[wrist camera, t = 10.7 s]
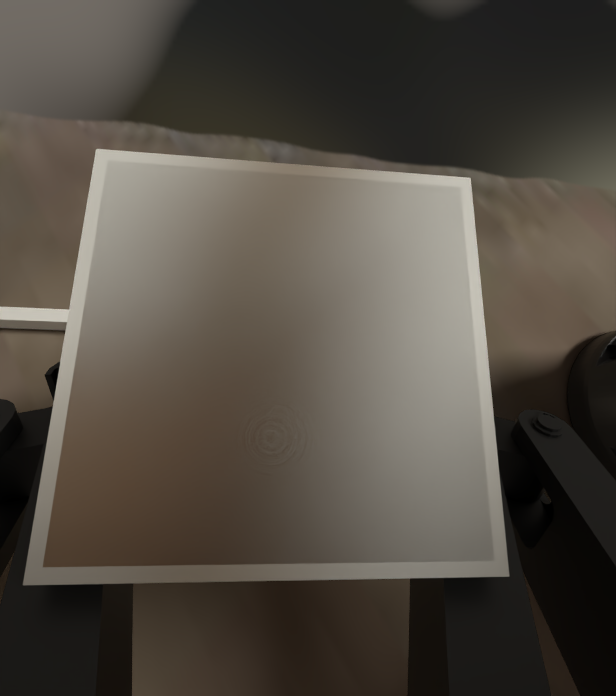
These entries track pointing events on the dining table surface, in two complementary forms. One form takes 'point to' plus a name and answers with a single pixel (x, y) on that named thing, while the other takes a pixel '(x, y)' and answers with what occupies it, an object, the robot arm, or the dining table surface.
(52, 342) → the dining table surface
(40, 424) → the robot arm
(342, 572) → the canister
